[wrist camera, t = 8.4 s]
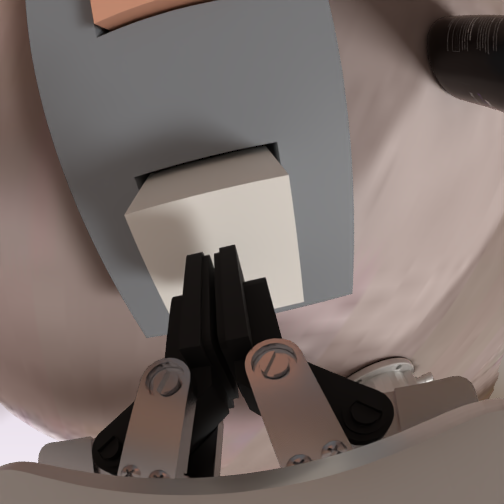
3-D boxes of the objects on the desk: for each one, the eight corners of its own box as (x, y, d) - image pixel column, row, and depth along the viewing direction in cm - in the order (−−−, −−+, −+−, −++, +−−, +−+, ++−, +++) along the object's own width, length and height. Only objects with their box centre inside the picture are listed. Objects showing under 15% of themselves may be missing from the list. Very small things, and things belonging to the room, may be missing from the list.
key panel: (267, -104, 6) (279, -133, 3) (332, 259, 22) (352, 293, 18) (54, -47, 6) (26, -63, 3) (153, 299, 22) (146, 337, 18)
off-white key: (265, 145, 14) (288, 174, 10) (281, 244, 17) (303, 301, 13) (150, 173, 14) (124, 215, 10) (183, 267, 17) (177, 328, 13)
